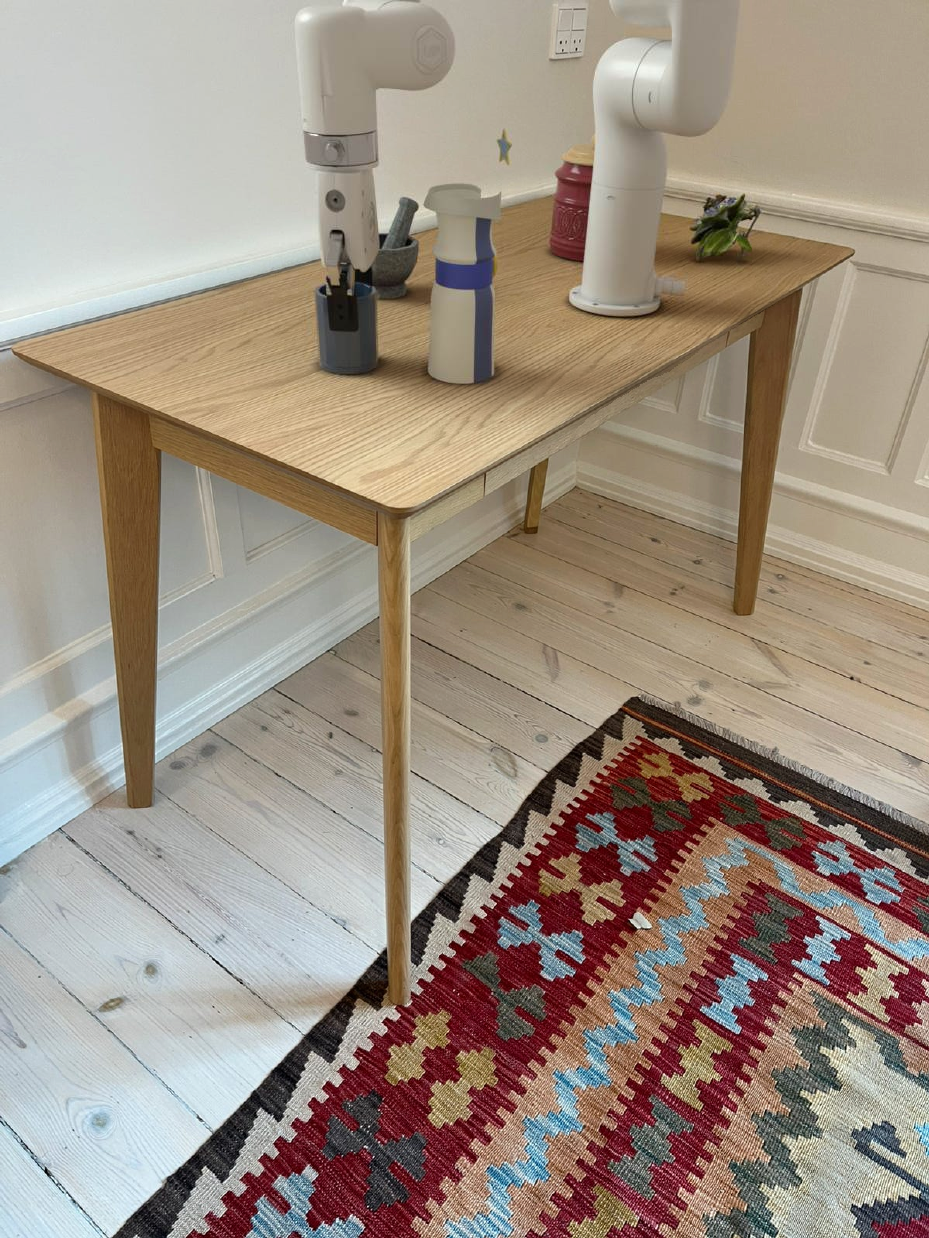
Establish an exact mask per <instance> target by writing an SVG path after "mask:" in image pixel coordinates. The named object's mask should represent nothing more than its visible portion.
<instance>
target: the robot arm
mask: <svg viewBox="0 0 929 1238" xmlns="http://www.w3.org/2000/svg"><path fill="white" fill-rule="evenodd" d="M420 2H421V0H343V2H342V4H323V5H322V4H320V5H319V4H318V5H310V6H304V7H302V8H301V9H299V11H298V12H297V13H296V15H295V18H294V24H293V28H294V29H293V30H294V42H295V54H296V55H295V56H296V63H297V65H296V66H297V76H298V87H299V97H300V98H299V100H300V111H301V122H302V123H301V125H302V136H303V145H304V156H305V157H304V158H305V167H306V168H308V169H310V170H313V171H315V196H316V213H317V214H316V215H317V231H318V232H317V233H318V242H319V243H318V244H319V254H320V261H321V265H322V268H323V269H325V271H326V276H325V283H327V285H326V293H327V294H326V295H327V307H328V319H329V329H330V330H331V331H343V332H356V331H358V329H359V320H358V304H357V294H355V293H354V282H361V283H366V284H369V285H371V286H373V275H372V267H370V266H371V264H372V263H373V261H374V259H375V258H376V256H377V254H378V252H379V233H380V232H379V221H378V220H379V219H378V210H377V209H378V208H377V196H376V186H375V178H374V171H373V169H375V168H377V167H379V165H380V160H379V159H380V158H379V137H378V136H379V135H378V112H377V90H379V89H388V90H401V91H409V92H411V91H412V92H414V91H415V92H416V91H424V90H427V89H430V88H433V87H435V86H436V85H438V84H440V82H441V81H443V79H445V77H447V75H448V74H449V72H450V70H451V68H452V66H453V63H454V60H455V55H456V40H455V35H454V32H453V29H452V26H451V25H450V23H449V21H448V20H447V19H446V18H445V16H444V15H442V14H441V13H440V11H438V10H437V9H435V8H434V7H432V6H430V5H427V4H424V3H420ZM608 2H609V7H610V9H611V11H612V13H613V15H614V16H615V17H616V18H618V19H619V20H620V21H622V22H624V23H627V24H631V25H635V26H641V27H649V28H650V27H651V28H659V29H660V28H661V29H671V40H670V39H663V38H654V37H653V38H652V37H639V36H638V37H630V38H624V39H622V40H619V41H617V42H615V43H613V44H612V45H611V46H610V47H608V48H607V49H606V50H605V52H604V53H603V54H602V55H601V57H600V59H599V61H598V62H597V64H596V68H595V71H594V76H593V81H592V105H593V116H594V134H595V153H594V165H593V176H592V184H591V194H590V204H589V215H588V225H587V235H586V245H585V255H584V261H583V264H582V265H583V267H582V276H581V277H582V278H581V284H579V285H576V286H574V287H573V288H571V290H569V294H568V295H569V296H568V300H569V303H570V304H571V305H572V306H574V307H576V308H577V309H579V310H582V311H584V312H587V313H591V314H596V315H601V316H609V317H636V316H637V317H638V316H643V315H649V314H651V313H654V312H655V311H657V310H658V309H659V308H660V305H661V304H660V303H661V295H670V296H676V297H684V296H685V294H686V287H687V281H686V280H676V278H675V277H659V275H657V273H656V270H655V267H654V266H655V265H654V264H655V259H656V258H655V257H656V252H657V251H656V250H657V244H658V237H659V229H660V224H661V217H662V216H661V214H662V208H663V201H664V195H665V194H664V193H665V187H666V185H667V184H666V183H667V176H668V175H667V174H668V155H667V149H666V142H665V140H664V139H665V138H664V135H663V133H664V134H669V135H672V136H673V135H674V136H680V137H685V138H686V137H687V138H690V137H691V138H693V137H695V138H696V137H699V136H702V135H705V134H707V133H708V132H710V131H711V130H712V129H714V127H716V125H717V124H718V123H719V121H720V120H721V118H722V117H723V114H724V112H725V110H726V107H727V104H728V101H729V97H730V93H731V89H732V82H733V73H734V66H735V65H734V64H735V56H736V55H735V54H736V44H737V35H738V26H739V17H740V16H739V15H740V4H741V0H608Z"/></svg>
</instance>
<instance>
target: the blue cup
mask: <svg viewBox="0 0 929 1238" xmlns="http://www.w3.org/2000/svg"><path fill="white" fill-rule="evenodd" d="M326 285H327V282H325V283H322V284H319V285H318V286H316V287H315V288H314V290H313V293H314V308H315V322H316V324H315V325H316V338H317V339H316V340H317V353H318V361H319V362H318V363H319V366H320V368H321V369H322V370H324V371H326V372H327V373H331V374H336V375H360V374H364V373H368V372H371V371H373V370H375V369H377V367H378V365H379V332H378V331H379V330H378V329H379V328H378V327H379V326H378V298H377V290H376V289H375V287H374V286H371V285H369V284H366V283H361V282H354V293H355V294H357V304H358V320H359V329H358V331H356V332H343V331H331V330H330V329H329V319H328V307H327V295H326V294H327V293H326Z"/></svg>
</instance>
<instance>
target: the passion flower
mask: <svg viewBox="0 0 929 1238" xmlns="http://www.w3.org/2000/svg"><path fill="white" fill-rule="evenodd" d="M727 197H728V196H727V195H726V194H725V195H722V194H719V193H718V194H715V196H714V197H711V196H708V197H707V198H706V199H705V204H704V205H702V208H703V213H702V215H698V218H696V220H695V225H691V226H690V227H689V231H691V232H694V234H693V237H692V238H691V240H690V244H691V245H696V244H698V245H697V247H696V249H695V256H694V257H695V258H696V261H697V262H699V260H700V257H702V258H703V259H705V258H707V257H709V256H711V255H714V256H719V255H721V254H723V253H725V252H726V251H728V249H730V248H731V247H732V246H733V245H735V244H736V243H737V244H738V246H739V247H740V248H741V251H740V262H743V257H744V255H745V251H747V252H748V253H752V252H753V249H752V245H751V243H750V241H749V239H748V238H749V235H750V233H751V231H752V230H753V227H754V225H755V224H756V222H757V220H758V219H759V217H760V214H761V213H762V211H761V209H760V208H761V207H760V205H758V204H757V203H755V204H754V205H753V206H752V205H751V206H748V209H749V212H746V211H745V208H746V205H747V204H748V202H747V201H746V200H745V199H746V193H745V192H744V193H742V194H740V195H739V196H738V198H736V197H735V196H730V197H728V198H729V199H728V200H727V201H726V199H727ZM747 220H749V221H752V220H753V221H752V223H751V224H750V227H749V228H748V230H747V232H745V231H744V230H740V229H738V227H739V224H740V223H741V222H743V221H747ZM737 229H738V230H737Z"/></svg>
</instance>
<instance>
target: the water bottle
mask: <svg viewBox="0 0 929 1238" xmlns="http://www.w3.org/2000/svg"><path fill="white" fill-rule="evenodd" d="M496 144H497V145H498V148H499V161H498V162H499V163H502V162H503V161H504V162H505V163H506V165H508V166H509V165H510V157H509V150H511V148H512V146H513V144H512V142H510V141H508V138H507V133H506V129H505V128H503V129H502V134H501V138H496ZM501 204H502V191H499V193H497V194H496V195H492V196H488V197H482V189H481V188H480V187H479V186H477V185H475V184H471V183H457V182H456V183H445V184H444V183H443V184H438V185H434V186H432V187H431V186H430V188H429V189H428V192H427V194H426V196H425V199H424V201H423V204H422V205H423V207H424V208H425V209H427V210H429V211H432V212H434V213H435V216H436V221H437V229H438V230H437V237H436V242H435V244H434V245H433V246H432V248H431V253H432V255H434V257H435V269H434V271H435V273H434V275H435V279H434V283H433V285H432V289H431V295H430V318H429V319H430V320H429V321H430V322H429V323H430V324H429V330H430V331H429V347H428V361H427V373H428V375H429V376H431V378H433V379H435V380H438V381H440V382H445V383H448V384H458V385H459V384H462V385H463V384H464V385H466V384H476V383H482V382H484V381H488V380H490V379H491V378H492V377H493V376H494V375H495V321H496V320H495V319H496V318H495V317H496V315H495V314H496V293H495V287H494V284H493V278H495V276H496V275H497V272H498V259H497V254H498V251H497V249H496V247H495V245H494V242H493V236H492V233H493V232H492V231H493V230H492V229H493V224H494V223H493V222H494V221H499V225H500V226H502V217H501V215H502V214H501V208H502V207H501V206H502V205H501Z"/></svg>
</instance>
